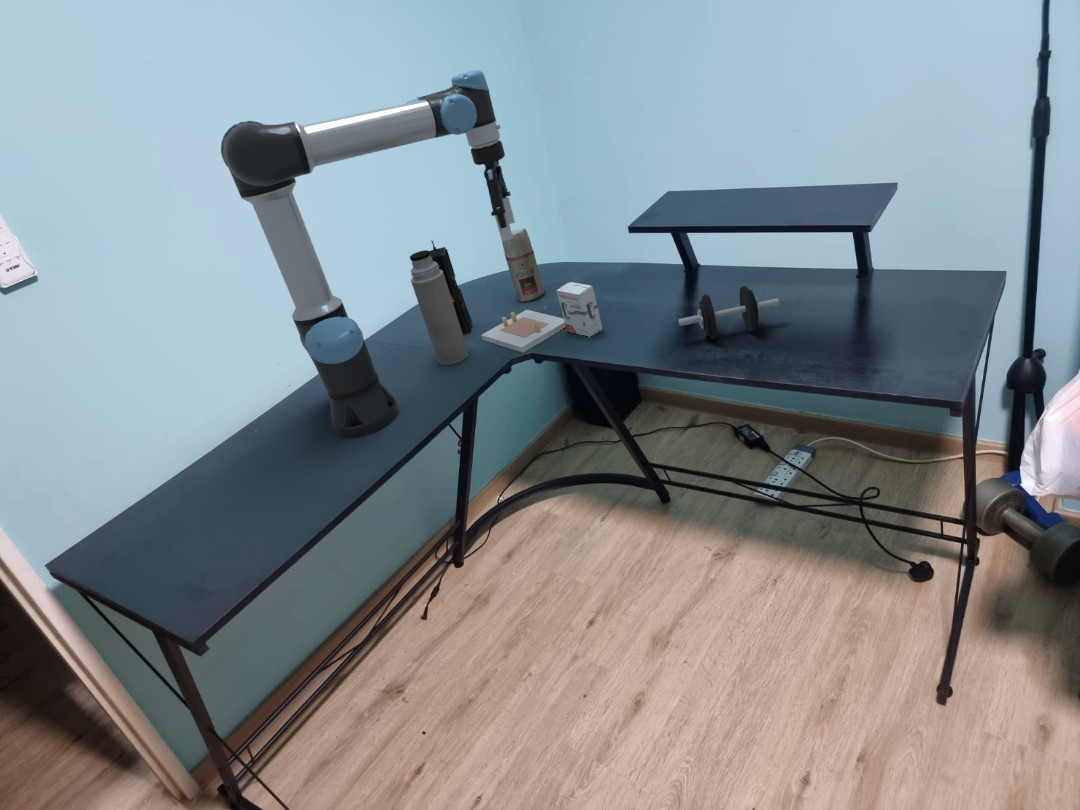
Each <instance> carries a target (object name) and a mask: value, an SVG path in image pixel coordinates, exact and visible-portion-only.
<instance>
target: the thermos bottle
mask: <svg viewBox="0 0 1080 810" xmlns="http://www.w3.org/2000/svg"><path fill="white" fill-rule="evenodd" d="M430 251H431V250H425V249H424V250H420V251H417V252H414V253H412V254H411V255H410V256H409V259H410V261H411V264H412V268H411V269H410V273H411V274H410V275H411V279H410V283H411V285H412V288H413V292H414V295H415V298H416V300H417V302H418V305H419V309H420V312H421V316H422V318H423V321H424V324H425V326H426V329H427V332H428V335H429V338H430V339H429V340H430V341H431V344H432V348H433V350H434V353H435V356H436V358H437V361H438V364H440V365H444V366H447V365H448V366H449V365H454V364H457V363H460V362H462V361H464V360H465V359H466V358H468V356H469V351H468V346H467V344H466V341H465V338H464V334H462V331H461V327H460V324H459V321H458V318H457V315H456V312H455V309H454V305H453V302H452V299H451V296H450V292H449V289H448V286H447V283H446V280H445V276H444V273H443V271H442V270H440V269H439V265H438V264H437V263H436V262H434V261H433V260H432V257H431V256H430Z"/></svg>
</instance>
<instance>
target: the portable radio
mask: <svg viewBox="0 0 1080 810" xmlns="http://www.w3.org/2000/svg"><path fill="white" fill-rule="evenodd" d="M430 243H432V244H431V245H432V249H431V250H429V251H430V256H431V257H432V260H433V261H434V262H436V263H437V264H438V265H439V269H440V270H442V271H443V273H444V276H445V280H446V283H447V286H448V289H449V292H450V296H451V299H452V302H453V305H454V309H455V312H456V315H457V318H458V321H459V324H460V327H461V331H462V334H463V335H466V334H469V333H470V331H471V328H472V322H473V320H472V318H471V315H470V313H469V310H468V307H467V305H466V301H465V299H464V296H463V292H462V290H461V288H459V286H458V283H457V281H456V274H455V270H454V266H453V264H452V261H451V258H450V255H449V252H448V249H447V248H446V247H445V246H444V247H439V248H437V247H436V246H435V244H434V240H431V241H430Z"/></svg>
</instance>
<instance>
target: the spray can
mask: <svg viewBox="0 0 1080 810" xmlns="http://www.w3.org/2000/svg"><path fill="white" fill-rule="evenodd" d="M511 232H512V236H513V239H511V240H506V241H502V240H501V244H502V247H503V251H504V257H505V261H506V265H507V266H508V270H509V274H510V277H511V281H512V283H513V287H514V290H515V293H516V295H517V301H519V302H530V301H533V300H536V299H538V298H540V297H541V296H543V295H544V294H545V290H544V287H543V282H542V278H541V274H540V272H539V271H540V270H539V267H538V263H537V260H536V255H535V251H534V249H533V246H532V242H531V239H530V236H529V233H528V231H527V229H526V228H525V227H523V228H521V229H515V230H511Z"/></svg>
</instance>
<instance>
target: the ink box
mask: <svg viewBox="0 0 1080 810" xmlns="http://www.w3.org/2000/svg"><path fill="white" fill-rule="evenodd" d="M556 294H557V297H558V302H559V305H560V310H561V314H562V317H563V319H564V322H565V326H566V328H565V329H566V333H568V332H571V333H570V334H573V333H576V334H575V335H577V334H580V335H579V336H581V335H585V336H588V337H587V338H591V337H590V336H592V335H593V336H595V335H597V334H598V333H600V332H602V329H603V326H602V325H603V324H602V321H601V316H600V311H599V306H598V303H597V298H596V294H595V290H594V287H593V285H589V284H583V283H578V282H573V281H571V282H567V283H565V284H564V285H562V286H560V287H559V288H558V289H556ZM599 331H600V332H599ZM596 333H597V334H596ZM594 334H595V335H594ZM585 336H584V337H585ZM593 336H592V337H593Z"/></svg>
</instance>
